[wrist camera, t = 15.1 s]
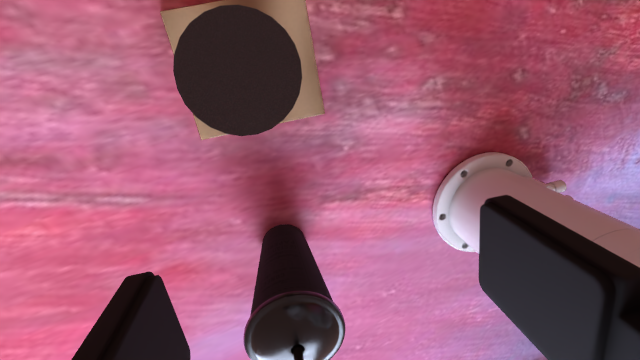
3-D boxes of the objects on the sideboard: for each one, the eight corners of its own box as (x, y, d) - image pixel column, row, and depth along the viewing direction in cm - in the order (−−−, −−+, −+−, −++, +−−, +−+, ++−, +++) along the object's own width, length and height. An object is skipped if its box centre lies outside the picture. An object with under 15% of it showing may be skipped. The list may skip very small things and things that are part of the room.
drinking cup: (260, 205, 35) (260, 365, 17) (326, 221, 37) (391, 381, 19) (241, 264, 37) (222, 466, 19) (304, 277, 39) (344, 470, 21)
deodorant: (205, 38, 28) (152, 19, 14) (273, 24, 29) (286, -8, 15) (226, 107, 30) (198, 148, 17) (289, 92, 31) (313, 120, 17)
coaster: (301, -12, 29) (302, -14, 28) (323, 112, 33) (325, 113, 32) (162, 12, 28) (159, 11, 27) (202, 137, 32) (201, 140, 31)
